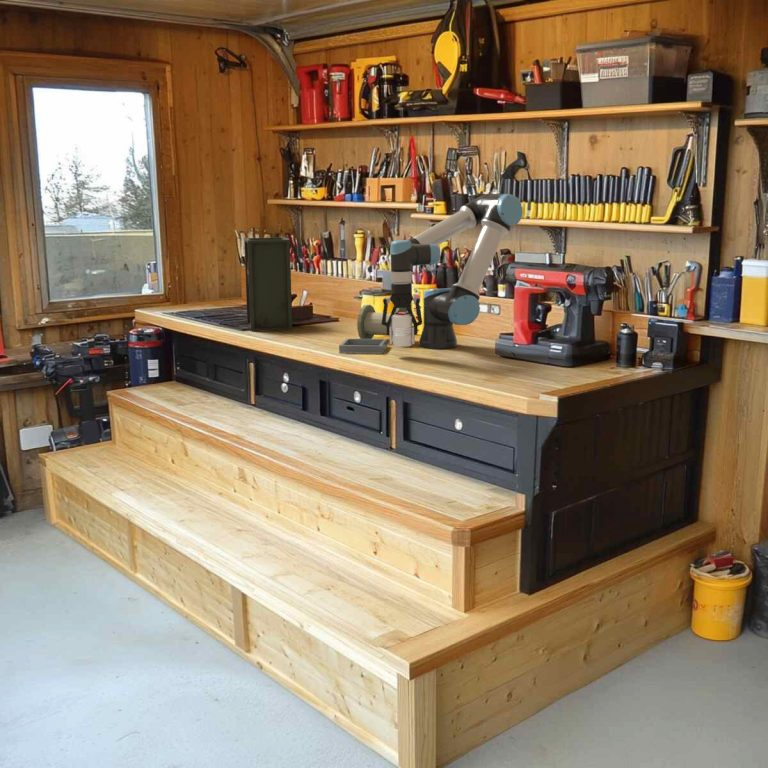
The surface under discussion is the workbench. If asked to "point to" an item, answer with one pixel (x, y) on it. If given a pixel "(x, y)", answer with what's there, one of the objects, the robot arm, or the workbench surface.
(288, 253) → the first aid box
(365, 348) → the tray
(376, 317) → the spool
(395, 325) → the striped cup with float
